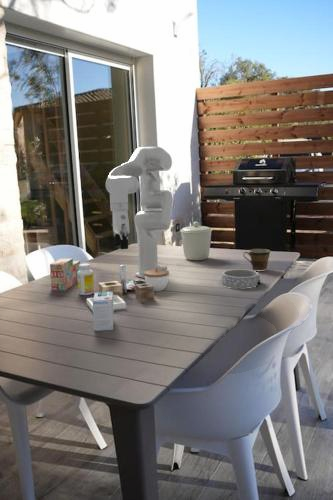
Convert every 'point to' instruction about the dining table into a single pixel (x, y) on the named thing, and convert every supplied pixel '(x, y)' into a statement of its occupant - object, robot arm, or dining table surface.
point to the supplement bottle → (85, 280)
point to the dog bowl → (240, 278)
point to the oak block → (111, 288)
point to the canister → (196, 241)
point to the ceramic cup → (259, 258)
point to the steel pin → (123, 278)
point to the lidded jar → (157, 278)
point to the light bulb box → (103, 311)
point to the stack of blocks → (64, 273)
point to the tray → (117, 303)
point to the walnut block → (144, 292)
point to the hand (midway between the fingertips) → (121, 247)
